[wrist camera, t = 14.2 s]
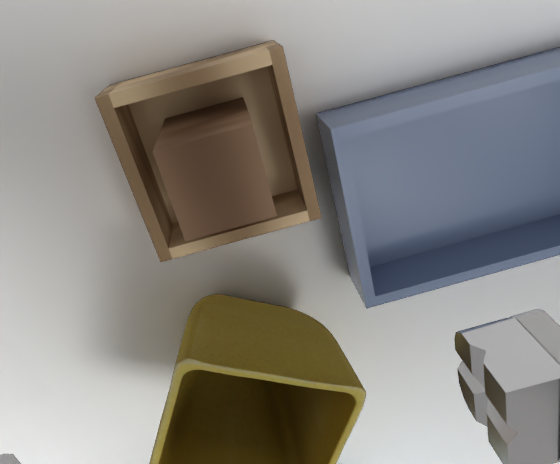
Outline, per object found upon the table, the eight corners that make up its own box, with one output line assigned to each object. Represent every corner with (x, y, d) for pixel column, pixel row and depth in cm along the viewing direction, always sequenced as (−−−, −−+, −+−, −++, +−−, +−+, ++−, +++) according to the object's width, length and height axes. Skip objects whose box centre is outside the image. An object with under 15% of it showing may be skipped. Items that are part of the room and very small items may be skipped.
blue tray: (596, 36, 26) (649, 42, 23) (589, 210, 31) (633, 234, 27) (316, 113, 26) (330, 129, 23) (350, 276, 30) (366, 308, 27)
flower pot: (156, 377, 32) (138, 505, 24) (186, 258, 29) (176, 361, 21) (287, 395, 34) (311, 520, 26) (329, 287, 31) (371, 390, 23)
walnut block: (243, 96, 25) (252, 124, 19) (263, 171, 26) (277, 216, 21) (165, 118, 25) (152, 151, 19) (190, 191, 26) (185, 241, 21)
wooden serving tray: (273, 40, 24) (282, 46, 21) (308, 193, 28) (321, 218, 25) (109, 84, 24) (94, 97, 21) (166, 232, 28) (160, 262, 25)
